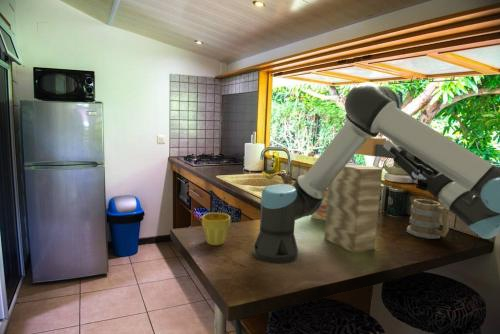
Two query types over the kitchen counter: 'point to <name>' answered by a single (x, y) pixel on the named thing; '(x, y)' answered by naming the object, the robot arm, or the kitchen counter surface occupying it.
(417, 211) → the tankard
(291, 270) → the kitchen counter surface
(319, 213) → the coffeecake box
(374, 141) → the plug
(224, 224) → the plant pot
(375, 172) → the zigzag striped pillar
